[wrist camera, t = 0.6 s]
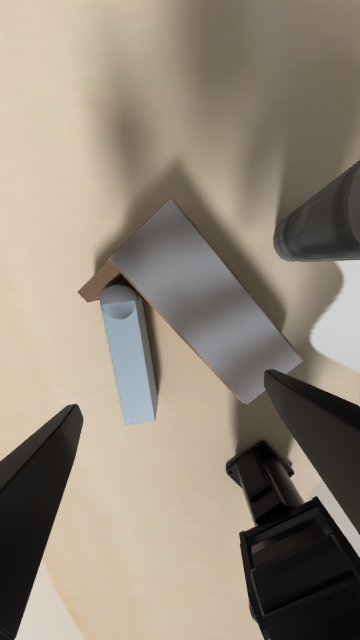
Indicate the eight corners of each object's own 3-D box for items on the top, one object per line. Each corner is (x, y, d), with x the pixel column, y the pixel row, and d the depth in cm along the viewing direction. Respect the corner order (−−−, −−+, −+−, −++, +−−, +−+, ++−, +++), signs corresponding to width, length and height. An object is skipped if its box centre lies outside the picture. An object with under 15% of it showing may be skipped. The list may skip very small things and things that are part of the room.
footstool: (278, 344, 21) (307, 361, 17) (205, 403, 23) (213, 434, 18) (171, 215, 19) (171, 191, 14) (94, 290, 20) (69, 292, 15)
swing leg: (158, 399, 22) (155, 421, 19) (132, 403, 22) (124, 425, 19) (139, 283, 19) (131, 283, 16) (110, 286, 19) (96, 287, 16)
